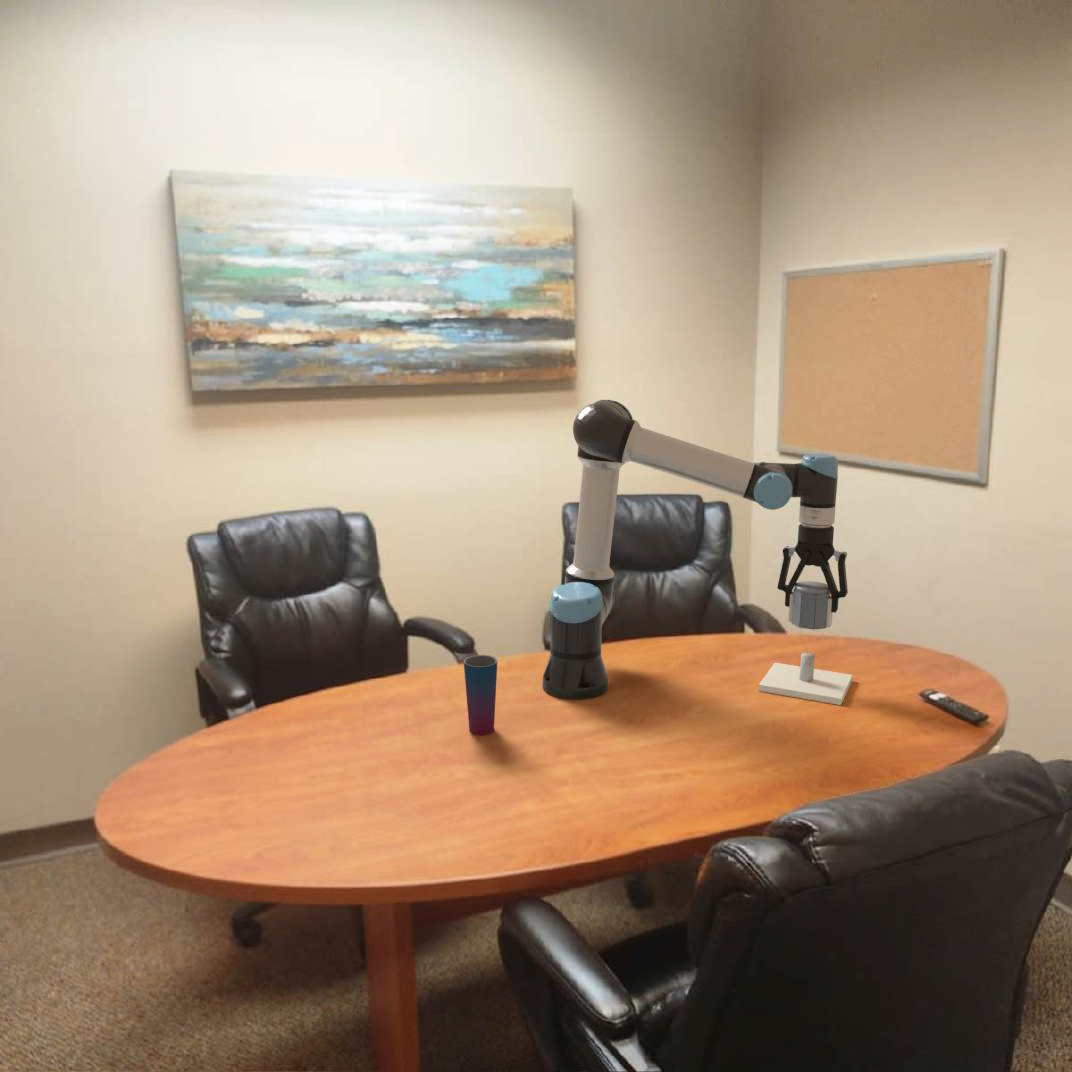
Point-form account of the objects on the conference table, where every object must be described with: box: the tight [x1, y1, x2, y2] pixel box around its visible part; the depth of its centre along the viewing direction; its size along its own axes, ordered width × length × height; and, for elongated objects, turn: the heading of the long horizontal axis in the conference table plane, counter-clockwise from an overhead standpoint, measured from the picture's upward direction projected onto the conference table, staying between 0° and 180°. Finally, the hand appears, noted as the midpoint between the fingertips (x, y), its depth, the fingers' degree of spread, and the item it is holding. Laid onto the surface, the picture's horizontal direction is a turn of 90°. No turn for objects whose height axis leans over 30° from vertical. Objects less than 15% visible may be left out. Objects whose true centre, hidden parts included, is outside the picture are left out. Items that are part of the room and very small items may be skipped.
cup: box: [463, 654, 498, 736], centre depth 179 cm, size 7×7×15 cm
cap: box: [791, 580, 831, 631], centre depth 200 cm, size 8×8×9 cm
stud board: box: [758, 652, 853, 706], centre depth 203 cm, size 18×16×8 cm
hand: (809, 622), depth 201 cm, fingers closed on cap, 8 cm apart
